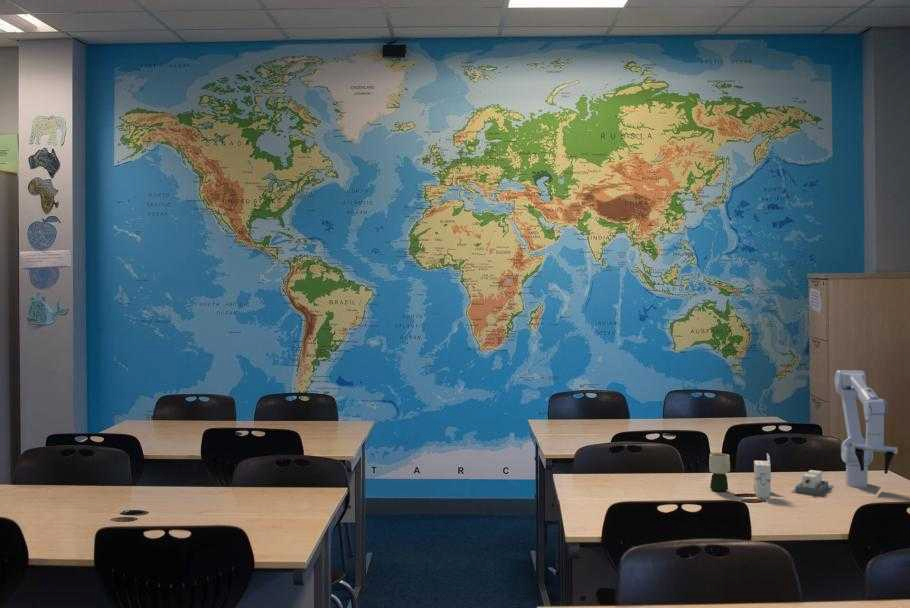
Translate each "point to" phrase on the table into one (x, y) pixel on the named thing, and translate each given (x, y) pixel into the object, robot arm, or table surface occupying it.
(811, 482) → the plug
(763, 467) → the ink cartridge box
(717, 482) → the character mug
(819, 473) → the twin plug
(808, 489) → the grey rectangular tray
